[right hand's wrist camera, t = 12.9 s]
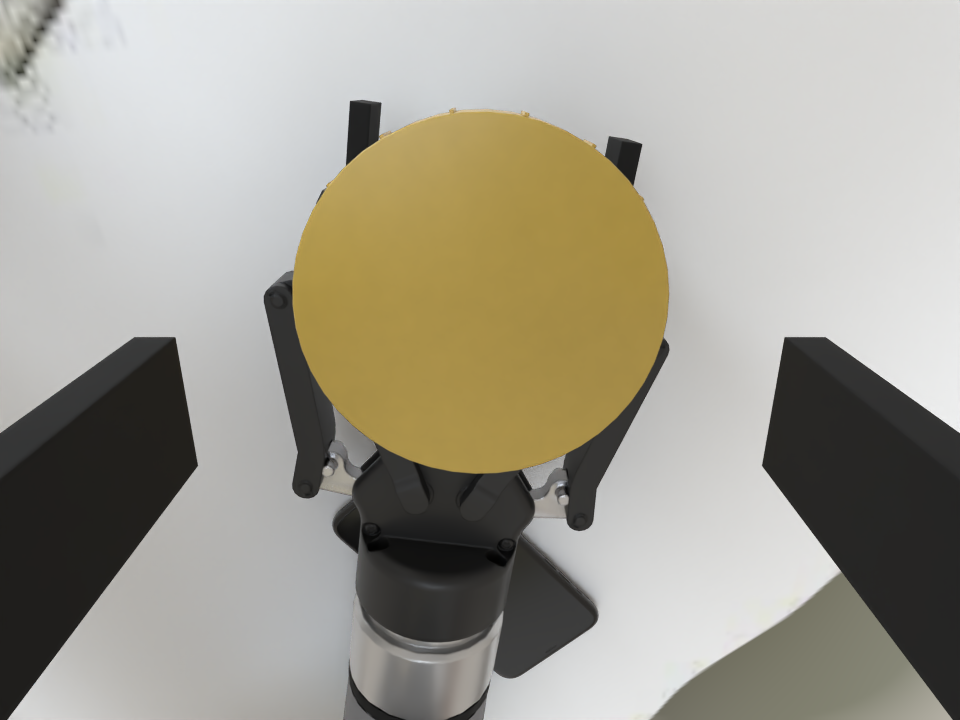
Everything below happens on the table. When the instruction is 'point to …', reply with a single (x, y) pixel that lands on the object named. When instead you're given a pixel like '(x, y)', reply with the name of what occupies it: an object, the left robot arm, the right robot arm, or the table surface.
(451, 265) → the lid
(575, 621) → the smartphone
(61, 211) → the table surface
